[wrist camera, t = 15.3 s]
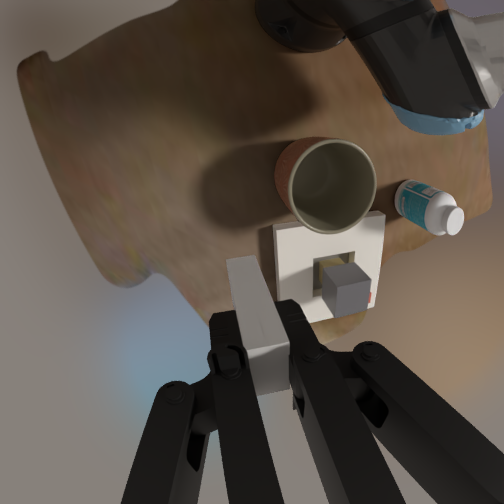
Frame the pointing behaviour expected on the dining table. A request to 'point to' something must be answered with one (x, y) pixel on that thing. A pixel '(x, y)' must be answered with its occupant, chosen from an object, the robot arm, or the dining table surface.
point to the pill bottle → (429, 208)
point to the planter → (326, 183)
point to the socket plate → (324, 248)
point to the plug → (344, 287)
